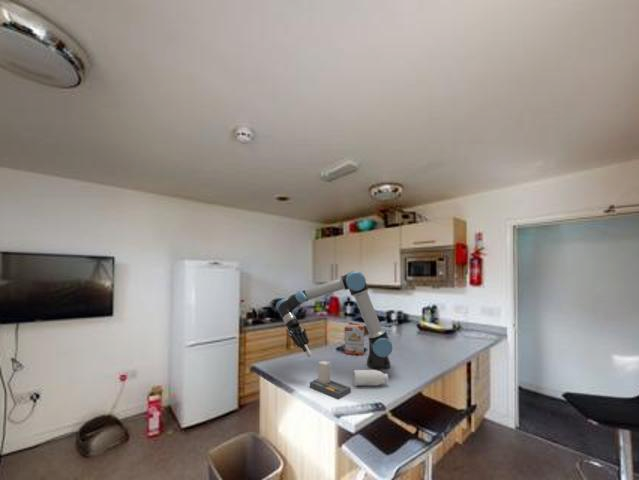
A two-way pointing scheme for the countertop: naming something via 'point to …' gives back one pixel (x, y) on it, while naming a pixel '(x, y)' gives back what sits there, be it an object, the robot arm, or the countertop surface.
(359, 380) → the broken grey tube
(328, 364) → the switch tab
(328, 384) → the switch plate
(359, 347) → the cracker box
